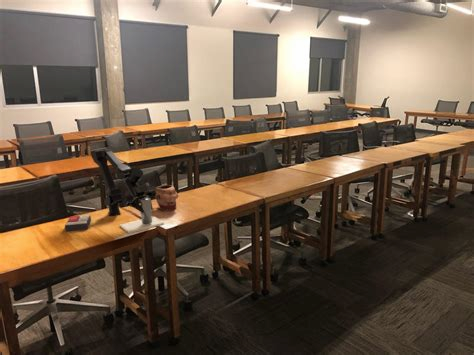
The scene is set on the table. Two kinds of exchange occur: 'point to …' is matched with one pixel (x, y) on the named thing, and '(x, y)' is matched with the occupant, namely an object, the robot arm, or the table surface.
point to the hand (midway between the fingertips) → (147, 211)
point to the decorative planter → (166, 197)
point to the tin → (146, 210)
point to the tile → (140, 225)
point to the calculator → (78, 223)
